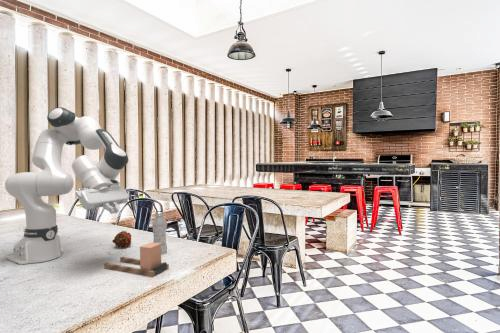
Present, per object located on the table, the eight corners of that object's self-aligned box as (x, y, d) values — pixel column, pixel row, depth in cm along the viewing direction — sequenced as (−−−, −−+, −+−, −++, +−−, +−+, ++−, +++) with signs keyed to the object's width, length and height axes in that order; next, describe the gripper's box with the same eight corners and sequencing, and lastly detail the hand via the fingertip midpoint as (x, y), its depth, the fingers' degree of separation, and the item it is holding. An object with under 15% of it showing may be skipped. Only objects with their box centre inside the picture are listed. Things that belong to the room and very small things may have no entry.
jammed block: (140, 272, 112) (139, 246, 111) (151, 267, 117) (150, 242, 117) (150, 274, 110) (150, 248, 110) (161, 269, 115) (161, 243, 115)
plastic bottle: (151, 253, 138) (151, 211, 138) (166, 251, 141) (165, 210, 141) (152, 257, 132) (152, 213, 132) (168, 255, 135) (167, 212, 135)
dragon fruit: (124, 253, 145) (119, 250, 155) (138, 240, 149) (132, 238, 159) (112, 240, 143) (108, 238, 152) (127, 228, 147) (121, 227, 157)
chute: (104, 271, 117) (104, 261, 117) (122, 263, 125) (122, 254, 125) (152, 280, 107) (152, 269, 107) (168, 271, 116) (168, 261, 116)
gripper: (77, 183, 111) (95, 211, 108) (121, 180, 130) (138, 203, 126) (69, 195, 113) (87, 222, 110) (114, 190, 132) (130, 213, 128)
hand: (115, 212), depth 118 cm, fingers closed
